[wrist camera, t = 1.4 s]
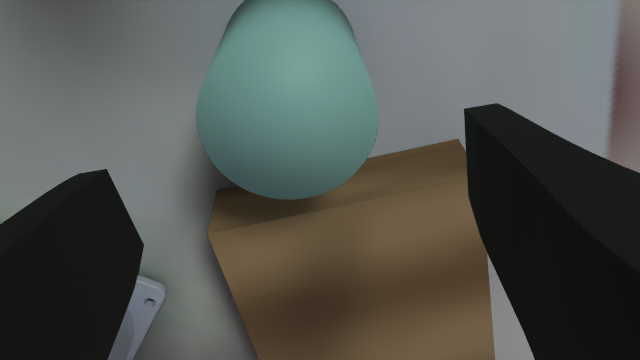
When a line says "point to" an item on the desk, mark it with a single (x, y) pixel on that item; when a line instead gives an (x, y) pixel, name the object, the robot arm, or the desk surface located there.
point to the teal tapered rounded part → (288, 100)
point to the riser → (362, 264)
